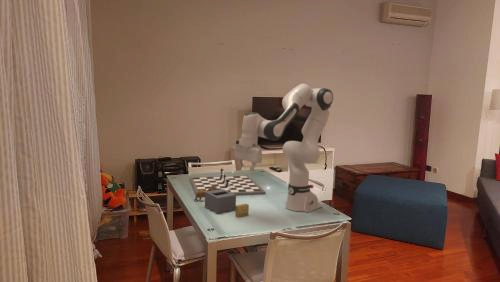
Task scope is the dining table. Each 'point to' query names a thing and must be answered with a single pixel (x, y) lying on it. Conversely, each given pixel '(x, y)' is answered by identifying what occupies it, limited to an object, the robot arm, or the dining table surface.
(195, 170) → the dining table surface
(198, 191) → the lion figurine
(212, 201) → the money box
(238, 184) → the chess set
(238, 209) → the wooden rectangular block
